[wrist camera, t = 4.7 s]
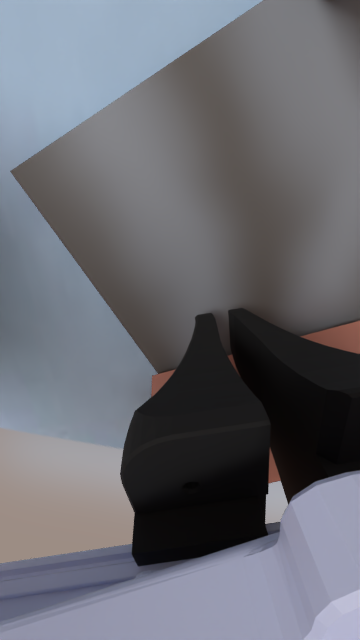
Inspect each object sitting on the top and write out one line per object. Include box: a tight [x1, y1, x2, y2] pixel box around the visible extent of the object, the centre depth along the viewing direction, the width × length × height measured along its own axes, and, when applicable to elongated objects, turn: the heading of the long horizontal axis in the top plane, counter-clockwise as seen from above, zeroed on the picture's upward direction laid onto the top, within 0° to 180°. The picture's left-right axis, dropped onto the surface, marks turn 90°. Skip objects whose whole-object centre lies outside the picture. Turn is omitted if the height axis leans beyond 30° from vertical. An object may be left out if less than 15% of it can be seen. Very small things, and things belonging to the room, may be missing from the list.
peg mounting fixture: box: [10, 0, 360, 374], centre depth 9 cm, size 13×16×7 cm
